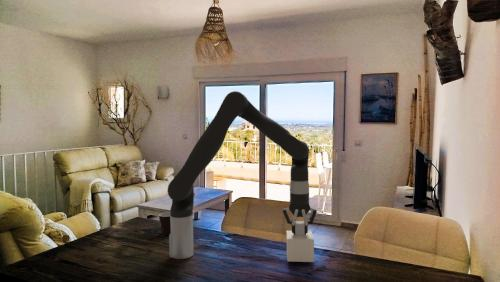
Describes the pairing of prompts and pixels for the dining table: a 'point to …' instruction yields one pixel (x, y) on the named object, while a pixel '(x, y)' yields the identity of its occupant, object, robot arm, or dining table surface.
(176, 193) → the robot arm
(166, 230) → the coffee mug
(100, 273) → the dining table surface
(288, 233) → the cream open-backed crate
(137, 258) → the dining table surface
